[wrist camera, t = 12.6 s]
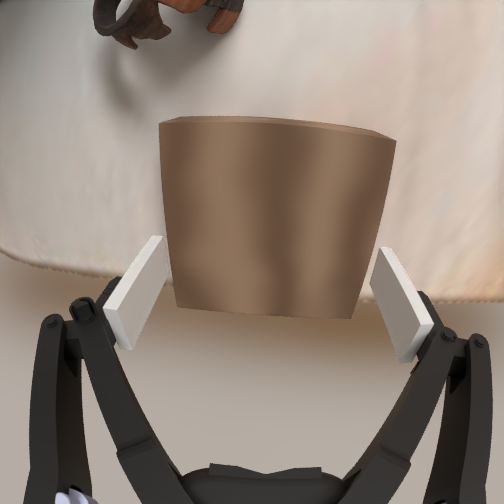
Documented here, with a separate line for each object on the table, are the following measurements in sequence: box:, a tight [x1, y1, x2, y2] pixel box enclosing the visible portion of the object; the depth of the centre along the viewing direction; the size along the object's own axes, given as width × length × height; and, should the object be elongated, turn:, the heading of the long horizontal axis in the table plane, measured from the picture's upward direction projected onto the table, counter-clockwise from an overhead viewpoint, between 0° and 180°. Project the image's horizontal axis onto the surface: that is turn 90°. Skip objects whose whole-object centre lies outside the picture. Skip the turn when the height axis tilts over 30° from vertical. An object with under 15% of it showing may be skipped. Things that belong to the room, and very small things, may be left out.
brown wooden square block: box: [159, 116, 396, 319], centre depth 22 cm, size 15×15×5 cm
